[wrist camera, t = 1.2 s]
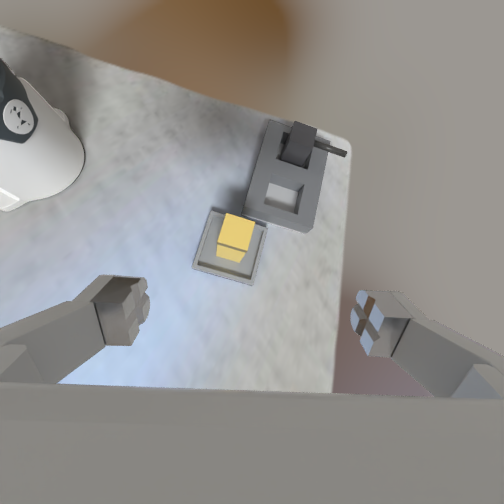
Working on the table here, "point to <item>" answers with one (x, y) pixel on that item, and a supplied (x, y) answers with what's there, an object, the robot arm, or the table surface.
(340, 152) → the grey socket block
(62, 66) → the table surface
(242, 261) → the tray
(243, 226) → the plug
